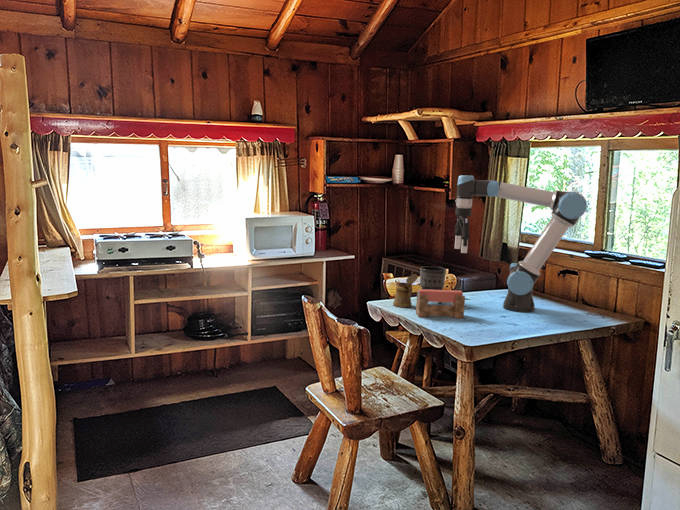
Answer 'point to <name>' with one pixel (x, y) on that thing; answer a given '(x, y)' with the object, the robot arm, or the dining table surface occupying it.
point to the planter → (432, 278)
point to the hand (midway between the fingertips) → (460, 250)
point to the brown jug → (404, 292)
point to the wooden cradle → (440, 308)
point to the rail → (440, 295)
